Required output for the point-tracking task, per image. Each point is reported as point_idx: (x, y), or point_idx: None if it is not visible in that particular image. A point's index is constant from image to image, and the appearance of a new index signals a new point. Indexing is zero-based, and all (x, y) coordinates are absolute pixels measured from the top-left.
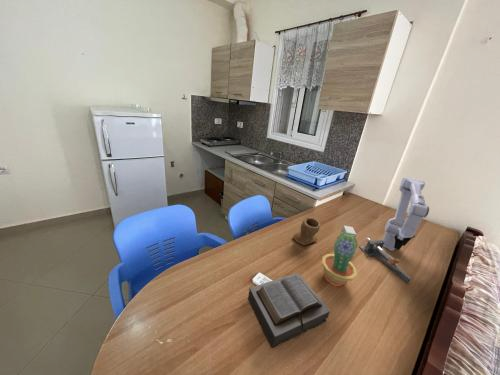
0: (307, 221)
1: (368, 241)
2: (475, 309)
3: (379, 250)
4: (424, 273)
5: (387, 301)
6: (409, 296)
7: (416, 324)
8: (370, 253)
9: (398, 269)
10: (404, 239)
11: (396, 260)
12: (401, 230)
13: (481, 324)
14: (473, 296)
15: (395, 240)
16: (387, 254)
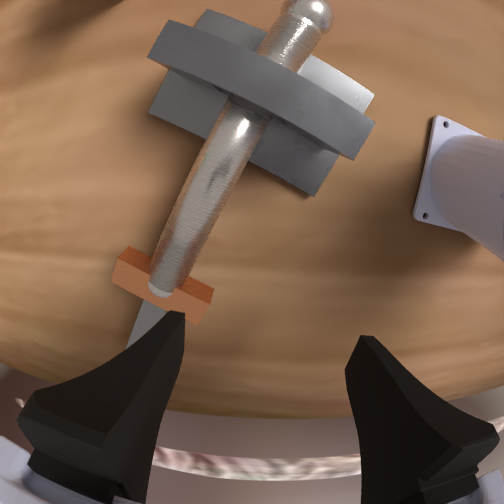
0: None
1: (168, 22)
2: (244, 465)
3: (199, 153)
4: (319, 383)
5: None
6: (71, 348)
7: (9, 357)
8: (190, 101)
9: (141, 313)
10: (378, 413)
11: (170, 306)
12: None
13: (188, 465)
14: (314, 462)
15: (88, 377)
16: (174, 235)
